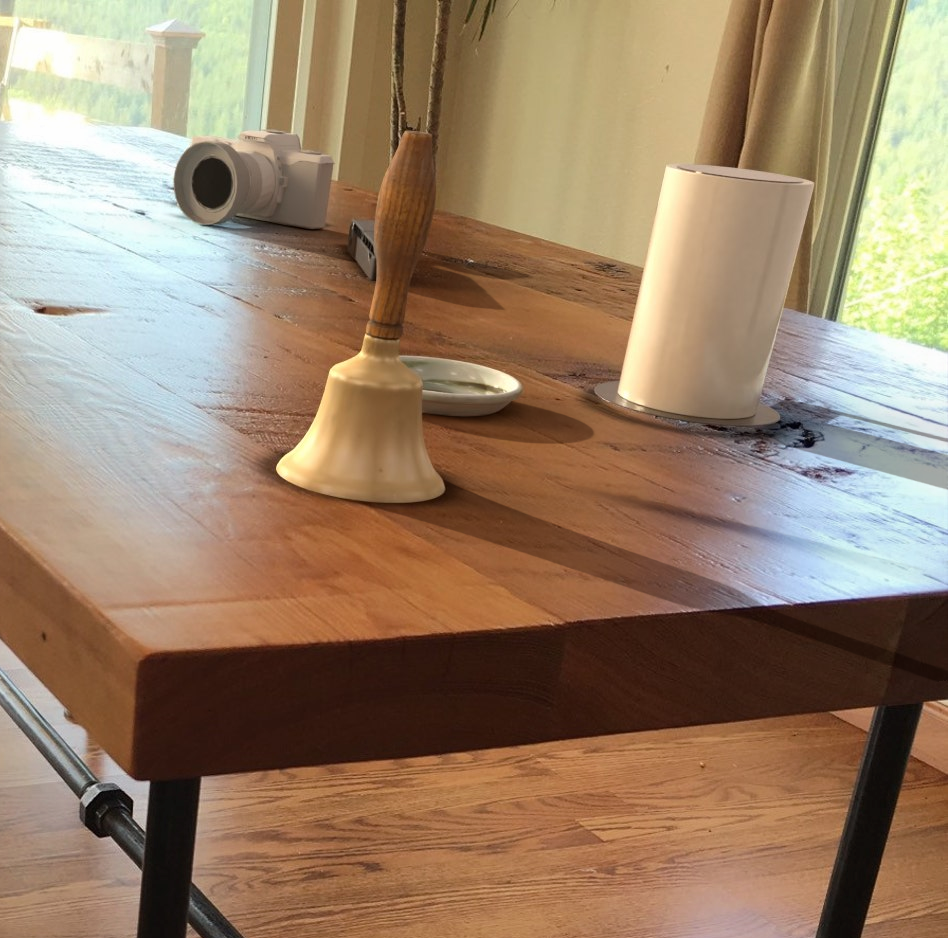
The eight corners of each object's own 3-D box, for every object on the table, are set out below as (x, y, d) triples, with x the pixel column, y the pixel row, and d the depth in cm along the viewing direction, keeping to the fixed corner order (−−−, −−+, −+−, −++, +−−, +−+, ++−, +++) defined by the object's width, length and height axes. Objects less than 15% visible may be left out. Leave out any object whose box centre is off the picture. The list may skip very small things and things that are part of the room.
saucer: (317, 395, 97) (323, 353, 95) (459, 395, 100) (466, 354, 99) (396, 439, 89) (403, 394, 88) (548, 437, 92) (556, 394, 91)
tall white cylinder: (729, 426, 94) (788, 185, 89) (595, 396, 98) (644, 164, 93) (797, 397, 104) (854, 178, 98) (672, 371, 108) (721, 159, 102)
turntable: (773, 413, 103) (777, 398, 103) (780, 452, 94) (784, 435, 93) (595, 387, 106) (598, 371, 105) (585, 422, 96) (588, 405, 96)
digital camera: (128, 247, 166) (118, 141, 163) (227, 237, 175) (220, 136, 172) (244, 236, 154) (236, 121, 151) (345, 226, 163) (339, 117, 160)
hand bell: (379, 456, 85) (430, 124, 78) (480, 504, 78) (545, 147, 71) (242, 464, 81) (282, 116, 74) (336, 515, 75) (390, 139, 68)
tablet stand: (345, 250, 152) (350, 216, 151) (373, 252, 152) (378, 218, 151) (369, 282, 136) (374, 245, 135) (400, 285, 136) (405, 247, 135)
